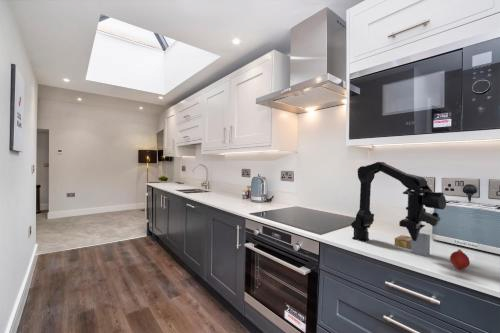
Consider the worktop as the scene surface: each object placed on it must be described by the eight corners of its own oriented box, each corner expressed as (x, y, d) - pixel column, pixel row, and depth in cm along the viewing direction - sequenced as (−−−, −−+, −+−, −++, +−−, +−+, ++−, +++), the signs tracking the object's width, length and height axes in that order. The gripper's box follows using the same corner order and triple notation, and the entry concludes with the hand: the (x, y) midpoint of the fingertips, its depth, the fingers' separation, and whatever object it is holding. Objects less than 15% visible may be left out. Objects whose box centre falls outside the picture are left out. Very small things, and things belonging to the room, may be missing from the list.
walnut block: (394, 238, 120) (401, 234, 126) (394, 246, 120) (401, 242, 126) (408, 241, 116) (414, 237, 121) (408, 249, 116) (414, 245, 121)
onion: (449, 265, 98) (450, 245, 98) (468, 269, 94) (469, 249, 94) (449, 269, 93) (450, 249, 93) (469, 274, 90) (470, 253, 89)
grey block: (411, 252, 111) (411, 233, 111) (414, 250, 113) (414, 231, 113) (426, 256, 106) (427, 236, 106) (429, 254, 109) (430, 234, 109)
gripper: (431, 211, 92) (430, 251, 93) (444, 205, 104) (443, 241, 104) (399, 206, 101) (398, 243, 101) (414, 202, 113) (414, 235, 113)
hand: (414, 240), depth 105 cm, fingers closed
